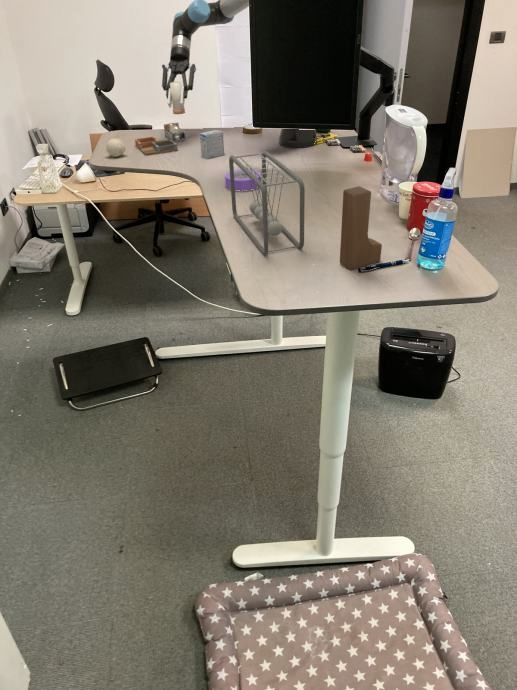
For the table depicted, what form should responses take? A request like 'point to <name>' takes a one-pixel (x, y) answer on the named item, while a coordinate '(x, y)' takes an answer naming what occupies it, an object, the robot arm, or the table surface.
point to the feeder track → (170, 136)
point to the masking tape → (241, 180)
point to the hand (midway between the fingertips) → (175, 105)
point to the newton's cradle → (261, 208)
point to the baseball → (115, 147)
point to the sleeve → (176, 97)
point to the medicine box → (212, 144)
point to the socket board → (155, 145)
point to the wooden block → (357, 230)
